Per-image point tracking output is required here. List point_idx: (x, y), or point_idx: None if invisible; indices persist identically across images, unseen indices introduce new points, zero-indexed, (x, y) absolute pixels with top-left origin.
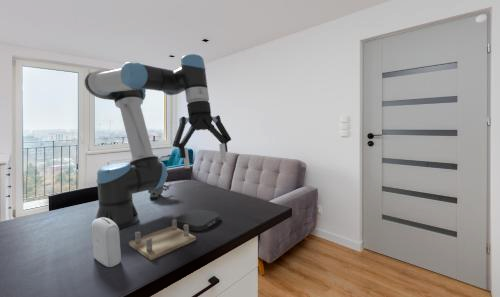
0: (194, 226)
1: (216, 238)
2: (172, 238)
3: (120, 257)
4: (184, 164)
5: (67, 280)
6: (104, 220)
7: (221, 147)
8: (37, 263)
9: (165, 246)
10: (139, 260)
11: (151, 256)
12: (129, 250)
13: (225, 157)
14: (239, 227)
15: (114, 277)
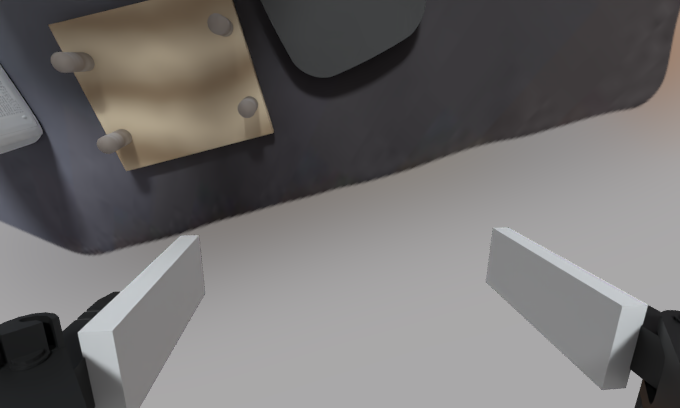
0: (294, 63)
1: (329, 155)
2: (202, 99)
3: (35, 136)
4: (169, 250)
5: None
6: None
7: (574, 323)
8: None
9: (172, 140)
10: None
11: (128, 170)
12: None
13: (510, 299)
14: (424, 131)
15: (41, 192)
